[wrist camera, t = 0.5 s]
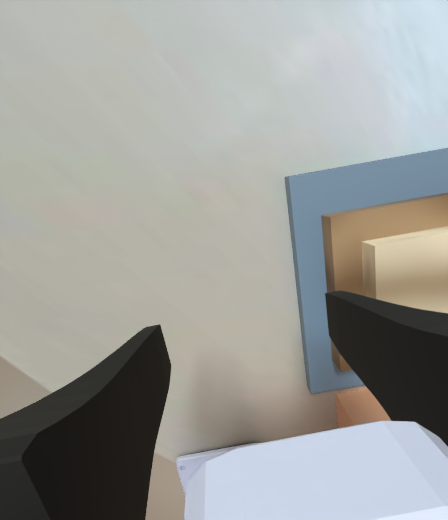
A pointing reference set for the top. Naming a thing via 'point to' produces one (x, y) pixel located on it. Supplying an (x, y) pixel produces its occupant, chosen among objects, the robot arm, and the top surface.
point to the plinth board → (310, 244)
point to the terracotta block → (358, 408)
